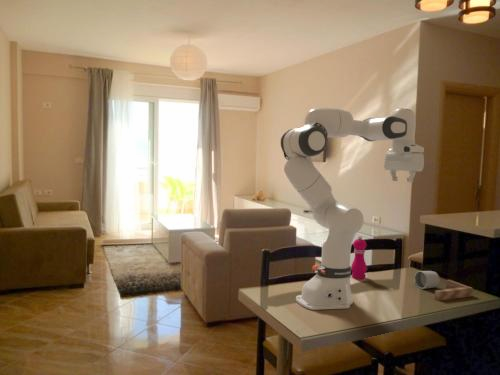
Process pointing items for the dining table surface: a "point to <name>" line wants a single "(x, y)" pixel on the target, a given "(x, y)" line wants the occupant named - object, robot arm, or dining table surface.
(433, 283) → the ceramic mug
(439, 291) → the walnut stop
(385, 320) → the dining table surface
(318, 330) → the dining table surface
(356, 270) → the pepper mill
